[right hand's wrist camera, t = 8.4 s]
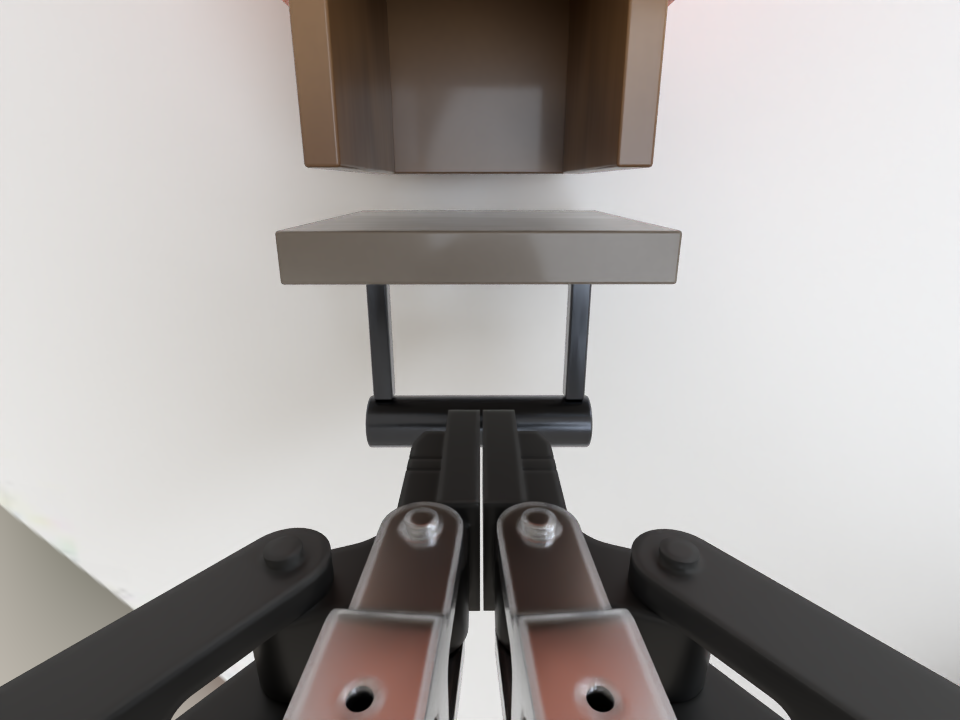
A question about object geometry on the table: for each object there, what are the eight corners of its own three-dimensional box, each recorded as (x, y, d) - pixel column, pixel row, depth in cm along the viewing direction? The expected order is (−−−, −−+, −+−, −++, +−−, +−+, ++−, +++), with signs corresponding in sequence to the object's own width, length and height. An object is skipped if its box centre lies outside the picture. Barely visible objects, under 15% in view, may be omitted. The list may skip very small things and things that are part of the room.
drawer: (584, 382, 23) (651, 508, 14) (373, 383, 23) (306, 509, 14) (631, -334, 16) (825, -994, 7) (324, -335, 16) (128, -995, 7)
